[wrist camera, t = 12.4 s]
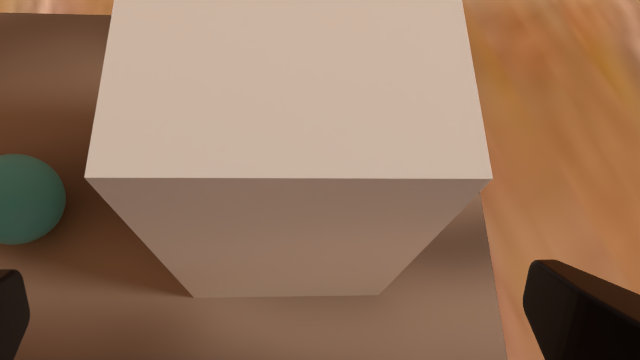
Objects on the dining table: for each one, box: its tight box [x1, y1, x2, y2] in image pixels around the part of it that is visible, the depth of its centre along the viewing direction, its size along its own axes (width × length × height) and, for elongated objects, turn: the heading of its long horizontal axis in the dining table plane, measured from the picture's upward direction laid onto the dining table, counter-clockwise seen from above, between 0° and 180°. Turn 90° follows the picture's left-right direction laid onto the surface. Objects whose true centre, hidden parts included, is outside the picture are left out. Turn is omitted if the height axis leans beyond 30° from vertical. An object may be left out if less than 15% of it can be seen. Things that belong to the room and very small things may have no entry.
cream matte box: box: [84, 0, 493, 298], centre depth 14 cm, size 6×6×10 cm
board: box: [0, 13, 508, 360], centre depth 19 cm, size 18×24×1 cm
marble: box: [0, 154, 66, 245], centre depth 17 cm, size 3×3×3 cm
